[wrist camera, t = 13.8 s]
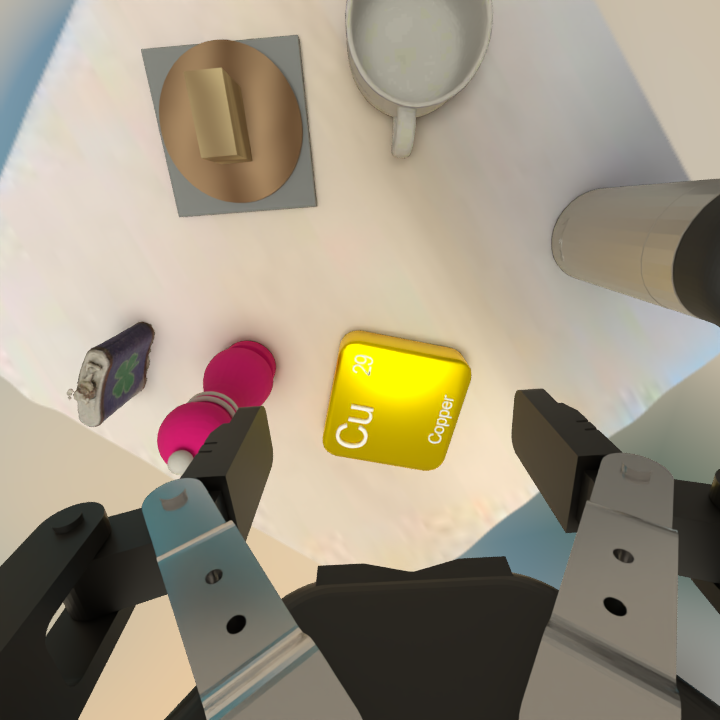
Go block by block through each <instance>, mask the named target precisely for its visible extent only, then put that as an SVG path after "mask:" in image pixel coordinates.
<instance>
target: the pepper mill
mask: <svg viewBox="0 0 720 720" xmlns="http://www.w3.org/2000/svg"><path fill="white" fill-rule="evenodd" d="M275 371H276V364H275V360H274V358H273V356H272V354H271V353H270V351H269V350H268V349H267V348H266V347H264V346H263V345H261V344H259V343H257V342H253V341H240V342H237V343H235V344H233V345H232V346H231V347H229V349H226V350H224V351H222V352H220V353H218V354H217V355H216V356H214V358H213V359H212V360H211V361H210V363H209V364H208V366H207V368H206V370H205V373H204V378H203V389H204V392H202V393H199V394H196V395H195V396H193V397H192V398H191V399H190V400H189V402H188V403H186V404H183V405H181V406H178V407H177V408H175V409H174V410H173V411H172V412H170V413H169V414H168V415H167V416H166V418H165V419H164V421H163V422H162V424H161V426H160V428H159V432H158V438H157V443H158V449H159V452H160V455H161V457H162V458H163V460H164V461H165V463H166V464H168V469H169V470H170V471H171V472H172V473H174V474H176V475H182V474H183V473H184V472H185V470H186V469H187V467H188V466H189V464H190V463H191V461H192V460H193V458H194V457H195V455H196V454H197V453H198V451H199V449H200V448H201V446H202V445H204V442H205V440H206V439H207V437H208V436H209V434H210V433H211V432H212V431H214V430H215V429H216V428H218V427H219V426H220V425H222V424H223V423H230V421H231V419H232V418H233V416H234V415H235V413H236V411H237V410H238V408H239V407H252V406H261V405H262V404H263V403H264V402H265V400H266V399H267V397H268V396H269V395H270V392H271V390H272V386H273V377H274V375H275Z"/></svg>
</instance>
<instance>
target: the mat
mask: <svg viewBox="0 0 720 720" xmlns="http://www.w3.org/2000/svg"><path fill="white" fill-rule="evenodd" d="M236 42H240V43H243V44H246V45H248V46H250V47H252V48H255V49H256V50H258V51H259V52H261V53H262V54H264V55H265V56H266V57H267V58H269V59H270V60H271V61H272V62H273V63H274V64H275V65H276V66H277V67H278V69H279V70H280V71H281V72H282V74H283V75H284V77H285V78H286V80H287V81H288V83H289V85H290V87H291V88H292V90H293V92H294V95H295V97H296V99H297V102H298V105H299V109H300V112H301V118H302V127H303V139H302V147H301V153H300V156H299V159H298V162H297V165H296V167H295V169H294V171H293V173H292V174H291V176H290V178H289V179H288V180H287V181H286V183H285V184H284V185H283V186H282V187H281V188H280V189H279V190H277V191H276V192H274V193H273V194H272V195H270V196H268V197H266V198H264V199H261V200H258V201H255V202H248V203H233V202H226V201H222V200H218V199H216V198H213V197H211V196H209V195H207V194H205V193H203V192H202V191H200V190H199V189H197V188H196V187H195V186H193V185H192V184H191V183H190V182H189V181H188V180H187V179H186V178H185V177H184V176H183V175H182V174H181V172H180V171H179V170H178V168H177V167H176V165H175V164H174V162H173V161H172V159H171V157H170V155H169V153H168V151H167V148H166V146H165V144H164V140H163V137H162V133H161V128H160V121H159V101H160V96H161V90H162V87H163V84H164V81H165V79H166V76H167V74H168V72H169V71H170V69H171V67H172V66H173V64H174V63H175V62H176V61H177V60H178V59H179V57H180V56H181V55H183V54H184V53H185V52H186V51H188V50H189V49H191V48H192V47H194V46H196V45H198V44H193V45H182V46H171V47H160V48H150V49H141V52H142V57H143V61H144V65H145V70H146V74H147V78H148V83H149V87H150V92H151V96H152V100H153V105H154V109H155V113H156V118H157V122H158V127H159V131H160V135H161V140H162V144H163V149H164V153H165V157H166V162H167V166H168V170H169V175H170V179H171V184H172V188H173V192H174V197H175V201H176V205H177V210H178V214H179V217H188V216H201V215H214V214H226V213H239V212H252V211H264V210H277V209H290V208H302V207H315V206H317V203H316V193H315V184H314V174H313V165H312V156H311V146H310V137H309V127H308V118H307V108H306V99H305V89H304V80H303V70H302V61H301V51H300V42H299V37H298V35H291V36H280V37H269V38H258V39H247V40H236Z"/></svg>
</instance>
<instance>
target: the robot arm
mask: <svg viewBox="0 0 720 720" xmlns="http://www.w3.org/2000/svg"><path fill="white" fill-rule="evenodd" d="M552 251H553V256H554V258H555V261H556V263H557V265H558V266H559V267H560V268H561V269H562V271H564V272H565V273H566V274H568V275H569V276H572V277H574V278H577V279H580V280H583V281H586V282H589V283H592V284H595V285H598V286H601V287H604V288H607V289H610V290H613V291H616V292H619V293H622V294H625V295H628V296H631V297H634V298H637V299H640V300H643V301H646V302H649V303H652V304H656V305H659V306H662V307H665V308H668V309H671V310H675V311H678V312H681V313H684V314H687V315H690V316H693V317H696V318H699V319H702V320H705V321H708V322H711V323H714V324H716V325H717V326H719V327H720V179H710V180H699V181H686V182H673V183H661V184H649V185H637V186H623V187H612V188H601V189H596V190H592V191H589V192H587V193H585V194H583V195H581V196H579V197H578V198H577V199H575V200H574V201H573V202H571V203H570V204H569V205H568V207H567V208H566V209H565V210H564V211H563V212H562V214H561V216H560V217H559V219H558V221H557V223H556V225H555V228H554V231H553V236H552ZM512 443H513V448H514V450H515V453H516V454H517V456H518V458H519V459H520V461H521V462H522V464H523V466H524V467H525V469H526V470H527V472H528V474H529V475H530V477H531V478H532V480H533V481H534V483H535V485H536V486H537V488H538V489H539V491H540V493H541V494H542V496H543V497H544V499H545V501H546V502H547V504H548V505H549V507H550V508H551V510H552V512H553V513H554V515H555V516H556V518H557V520H558V521H559V523H560V524H561V526H562V528H563V529H564V531H565V532H566V533H572V532H577V534H576V537H575V541H574V544H573V547H572V550H571V553H570V557H569V560H568V564H567V567H566V570H565V573H564V577H563V579H562V583H561V586H560V590H557V589H555V588H554V587H552V586H550V585H548V584H546V583H544V582H542V581H539V580H536V579H534V578H531V577H528V576H525V575H521V574H517V573H512V572H511V569H510V567H509V565H508V562H507V560H506V557H504V556H502V557H483V558H464V559H456V560H453V561H449V562H446V563H442V564H439V565H436V566H432V567H429V568H425V569H422V570H419V571H414V572H409V571H402V570H397V569H391V568H386V567H380V566H374V565H369V564H345V565H326V566H318V571H317V580H316V582H315V583H311V584H308V585H306V586H304V587H301V588H299V589H297V590H295V591H293V592H291V593H290V594H288V595H286V596H285V597H284V598H282V599H281V598H280V596H279V595H278V593H277V591H276V590H275V588H274V587H273V585H272V583H271V582H270V580H269V579H268V577H267V575H266V574H265V572H264V571H263V569H262V567H261V566H260V564H259V562H258V561H257V559H256V558H255V556H254V554H253V553H252V551H251V550H250V548H249V546H248V545H247V543H246V539H247V536H248V533H249V531H250V528H251V525H252V522H253V519H254V516H255V513H256V510H257V508H258V505H259V502H260V499H261V496H262V493H263V490H264V487H265V484H266V482H267V479H268V476H269V473H270V470H271V467H272V462H273V448H272V442H271V437H270V431H269V426H268V420H267V415H266V411H265V408H264V407H263V406H252V407H239V408H238V410H237V411H236V413H235V415H234V416H233V418H232V419H231V421H230V423H223V424H222V425H220V426H219V427H218V428H216V429H215V430H214V431H212V432H211V433H210V434H209V436H208V437H207V439H206V440H205V442H204V445H202V446H201V448H200V449H199V451H198V453H197V454H196V455H195V457H194V458H193V460H192V461H191V463H190V464H189V466H188V467H187V469H186V470H185V472H184V473H183V475H182V476H181V478H180V479H177V480H173V481H170V482H168V483H165V484H163V485H162V486H160V487H158V488H156V489H155V490H154V491H152V492H151V493H150V494H149V495H148V496H147V497H146V498H145V500H144V502H143V504H142V508H139V509H136V510H133V511H129V512H125V513H121V514H118V515H114V516H110V517H108V516H107V514H106V511H105V509H104V507H103V506H102V505H101V504H99V503H96V502H87V503H80V504H76V505H73V506H70V507H68V508H66V509H63V510H61V511H59V512H57V513H56V514H54V515H52V516H51V517H49V518H48V519H46V520H45V521H44V522H43V523H41V524H40V525H39V526H38V527H37V528H36V530H34V532H33V533H32V534H31V535H30V536H29V537H28V538H27V539H26V540H25V541H24V542H23V543H22V544H21V545H20V546H19V547H18V548H17V550H16V551H15V552H14V553H13V554H12V555H11V556H10V557H9V558H8V559H7V560H6V561H5V562H4V563H3V565H1V566H0V720H78V718H79V716H80V714H81V712H82V710H83V708H84V706H85V704H86V703H87V701H88V699H89V697H90V695H91V693H92V691H93V689H94V687H95V684H96V683H97V681H98V679H99V677H100V675H101V673H102V671H103V669H104V667H105V665H106V663H107V661H108V659H109V657H110V655H111V653H112V651H113V649H114V647H115V645H116V643H117V641H118V639H119V637H120V635H121V633H122V631H123V629H124V628H125V626H126V624H127V622H128V620H129V618H130V616H131V614H132V611H133V610H134V608H135V605H136V604H139V603H143V602H146V601H149V600H152V599H154V598H157V597H161V596H164V595H167V594H168V597H169V600H170V603H171V606H172V609H173V612H174V616H175V619H176V622H177V625H178V627H179V631H180V635H181V638H182V641H183V644H184V647H185V650H186V654H187V656H188V660H189V663H190V666H191V669H192V673H193V675H194V679H195V682H196V686H195V687H194V688H193V689H192V691H191V692H190V693H189V694H188V695H187V696H186V697H185V698H184V699H183V700H182V701H181V702H180V703H179V704H178V705H177V707H176V708H175V709H174V710H173V711H172V712H171V713H170V714H169V715H168V716H167V717H166V718H165V719H164V720H720V706H719V705H717V704H716V703H715V702H713V701H711V699H709V698H708V697H706V696H705V695H704V694H702V693H701V692H700V691H698V690H697V689H695V688H694V687H693V686H691V685H690V684H689V683H687V682H686V681H684V680H683V679H682V678H680V677H679V676H678V675H676V648H677V593H678V575H679V576H685V577H689V578H691V580H692V581H693V582H694V583H695V585H696V586H697V587H698V588H699V590H700V591H701V592H702V593H703V594H704V596H705V597H706V598H707V599H708V601H709V602H710V603H711V604H712V606H713V607H714V608H715V609H716V610H717V612H718V613H719V614H720V469H719V470H718V471H717V472H716V474H715V477H714V480H713V483H712V485H710V484H704V483H697V482H689V481H682V480H675V479H674V478H673V476H672V474H671V473H670V472H669V471H668V470H667V469H666V468H665V467H664V466H662V465H661V464H659V463H657V462H655V461H653V460H651V459H649V458H646V457H643V456H639V455H635V454H630V453H622V452H621V451H620V450H619V449H618V448H617V447H616V446H615V445H614V444H613V443H612V442H611V441H610V440H609V439H608V438H607V437H605V436H604V435H603V434H602V433H601V432H600V431H599V430H597V429H596V427H595V426H594V425H593V424H592V423H590V422H588V420H587V419H586V418H585V417H584V416H583V415H582V414H581V413H580V412H579V411H578V410H576V409H574V408H572V407H570V406H568V405H566V404H564V403H557V402H556V401H555V400H554V399H553V398H552V397H551V396H550V395H549V394H548V393H547V392H546V391H545V390H544V389H528V390H518V391H517V392H516V394H515V398H514V410H513V422H512ZM62 603H64V605H65V609H64V611H63V612H62V613H61V615H60V616H59V618H58V619H57V621H56V622H55V624H54V625H53V627H52V628H51V629H50V631H49V633H48V634H47V636H46V631H47V628H48V625H49V623H50V621H51V619H52V617H53V616H54V614H55V613H56V611H57V610H58V609H59V607H60V606H61V604H62Z"/></svg>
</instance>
